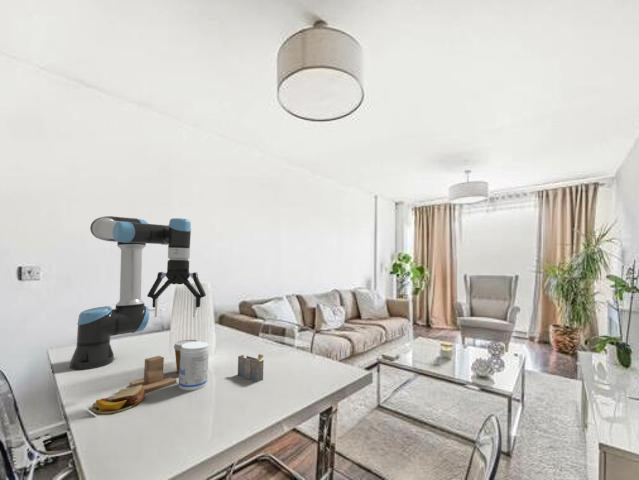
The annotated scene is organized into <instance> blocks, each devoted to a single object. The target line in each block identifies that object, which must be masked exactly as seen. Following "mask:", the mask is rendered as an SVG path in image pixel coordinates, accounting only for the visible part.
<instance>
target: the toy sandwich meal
mask: <svg viewBox="0 0 639 480" xmlns="http://www.w3.org/2000/svg"><path fill="white" fill-rule="evenodd" d="M145 397H146V395H145V391H144V388H143V386H142V385H139V386H135V387H126V388H122V389H121V388H120V389H119V391H118V392H117V393H116V394H115V395H112V396H108V397H105V398H100V399H96V400H95V402H94V403H92V406H91V407H92V408H91V411H93V412H94V413H96V414H99V415H100V414H102V415H106V414H107V415H108V414H117V413H121V412H124V411H127V410H129V409H131V408H134V407H135V406H137V405H139V403H141V402H142V401H143V400H144V399H145Z"/></svg>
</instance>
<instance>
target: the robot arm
mask: <svg viewBox="0 0 639 480" xmlns="http://www.w3.org/2000/svg"><path fill="white" fill-rule="evenodd" d="M191 222H192V221H191V220H190V219H189V218H188V219H187V218H179V217H176V218H175V217H174V218H170V219H169V223H168V225H167V224H155V223H154V224H153V223H152V224H151V223H148V221H146V220H145V219H141V218H137V217H136V218H134V217H120V216H112V215H110V216H108V215H107V216H101V217H98V218H96V219H94V220H93V221H92V222H91V224H90V232H91V235H93V236H94V237H95V239H96V238H97V239H99V240H102V241H105V242H116V243H117V245H116V246H117V247H118V248H119V249H120V277H119V278H120V280H119V281H120V282H119V301H118V302H117V303H116V304H115V308H114V309H113V308H112V307H111V306H109V305H108V306H99V307H97V306H96V307H92V308H89V309H85V310H83V311H81V312H80V313H79V315H78V319H77V333H76V335H77V336H76V347H75V350H74V353H73V354H72V356H71V359H70V363H69V367H70V369H74V370H88V369H93V368H99V367H104V366H107V365H109V364H112V363H113V362H114V361H115V359H114V358H115V355H114V352H113V349H112V346H111V337H113V336H119V335H126V334H131V333H132V334H134V333H138V332H142V331H144V330H145V329H146V328H147V326H148V323H149V320H150V308H149V307H148V306H146V305H145V301H143V300H142V268H143V267H142V266H143V265H142V262H143V261H142V260H143V259H142V258H143V249H144V248H146V247H147V246H146V245H147V244H152V245H153V244H154V245H161V246H163V245H166V246H168V247H167V258H168V260H167V265H166V269H167V271H166V272H164V271H159V272H157V275H156V279H155V281H154V283H153V284H152V285H151V288H150V290H149V292H148V294H147V296H146V297H148V298H151V299H152V308H154V318H158V317H160V314H161V313H160V312H161V298H160V296H161V295H162V294H163V293H164V291H166V289H167V288H168V287H169V286H170V285H184V286H185V287H187V289H188V290H189V291H190V292H191V294H192V296H194V297H195V298H194V299H193V309H192V310H193V313H192V317H193V318H195V317H197V316H198V308H200V307H201V300H202V298H204V297H206V296H207V295H206V292H205V290H204V287H203V285H202V283H201V281H200V279H199V273H198V272H196V271H194V272H190V260H189V259H190V254H191V249H190V248H191V234H192V227H191V226H192V223H191ZM165 277H166V279H167V280H166V281H165V282H164V284H162V286H161V287H160V288H159V286H160V284H161V282H162V281H163V280H164V279H165ZM189 278H191V279H192V280H193V283H194V284H195V286H196V288H195V286H193V285H192V283H191V281H190V280H189ZM158 288H159V289H158ZM196 289H197V290H198V291H197V290H196Z"/></svg>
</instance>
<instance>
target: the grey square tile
mask: <svg viewBox="0 0 639 480" xmlns="http://www.w3.org/2000/svg"><path fill="white" fill-rule="evenodd" d="M175 385H179V382H177V381H176V383H175V384H172V385H170V386H167V387H164V388H161V389H158V390H155V391H152V392H149V393H146V394H145V396H146V395H149V394H150V393H151V394H152V393H154V392H156V391H159V390H160V391H161V390H163V389H165V388H169V387H171V386H175ZM130 387H131V386H129V385H127V388H130Z"/></svg>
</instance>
